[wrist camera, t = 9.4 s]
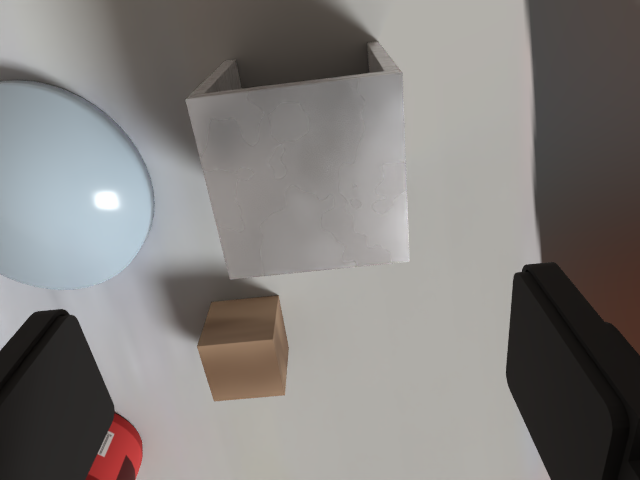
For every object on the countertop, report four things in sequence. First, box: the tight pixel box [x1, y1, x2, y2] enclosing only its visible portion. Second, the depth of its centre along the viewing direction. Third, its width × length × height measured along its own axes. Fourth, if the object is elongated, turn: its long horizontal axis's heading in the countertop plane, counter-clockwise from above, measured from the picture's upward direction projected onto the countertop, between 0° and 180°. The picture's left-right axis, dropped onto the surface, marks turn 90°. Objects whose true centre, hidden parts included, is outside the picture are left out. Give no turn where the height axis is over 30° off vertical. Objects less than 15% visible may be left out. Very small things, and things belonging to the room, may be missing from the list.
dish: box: [0, 80, 155, 290], centre depth 25 cm, size 11×11×1 cm
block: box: [197, 295, 289, 401], centre depth 28 cm, size 4×4×4 cm
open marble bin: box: [185, 41, 410, 279], centre depth 21 cm, size 7×7×8 cm
